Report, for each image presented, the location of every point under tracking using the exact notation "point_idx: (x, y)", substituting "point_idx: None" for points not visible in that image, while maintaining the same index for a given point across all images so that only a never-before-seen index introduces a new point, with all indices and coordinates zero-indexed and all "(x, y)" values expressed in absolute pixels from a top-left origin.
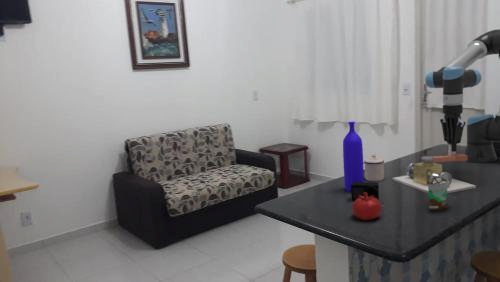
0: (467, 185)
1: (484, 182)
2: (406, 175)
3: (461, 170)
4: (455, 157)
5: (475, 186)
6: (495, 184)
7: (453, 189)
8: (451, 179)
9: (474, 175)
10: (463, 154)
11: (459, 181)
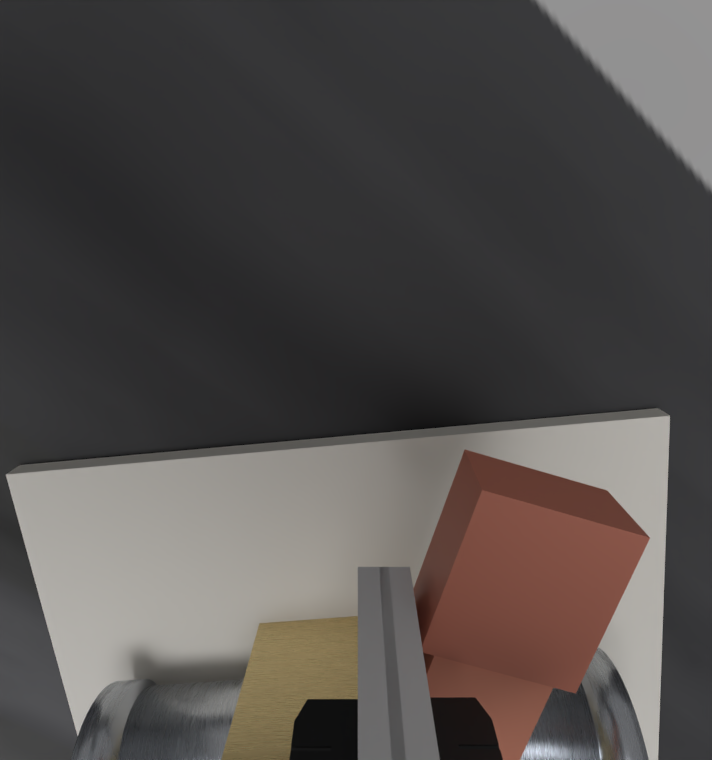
0: (625, 477)
1: (558, 198)
2: (73, 718)
3: (12, 56)
4: (540, 692)
5: (665, 414)
6: (675, 151)
7: (652, 647)
8: (615, 673)
9: (276, 84)
10: (514, 522)
11: (477, 452)
